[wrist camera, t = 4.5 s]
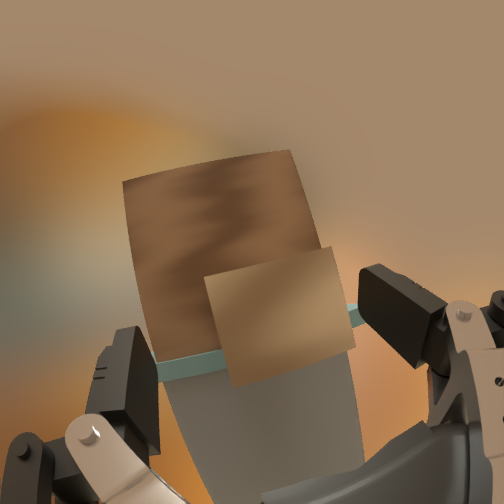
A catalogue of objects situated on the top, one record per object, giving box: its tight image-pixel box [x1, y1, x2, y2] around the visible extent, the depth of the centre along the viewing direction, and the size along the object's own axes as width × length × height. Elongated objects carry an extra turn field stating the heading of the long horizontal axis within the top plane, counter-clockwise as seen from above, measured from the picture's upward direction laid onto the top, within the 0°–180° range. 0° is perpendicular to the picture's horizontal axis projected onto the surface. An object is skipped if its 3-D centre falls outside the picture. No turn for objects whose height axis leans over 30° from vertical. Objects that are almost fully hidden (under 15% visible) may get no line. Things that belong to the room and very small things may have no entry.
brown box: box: [122, 150, 356, 388], centre depth 13 cm, size 10×13×10 cm
